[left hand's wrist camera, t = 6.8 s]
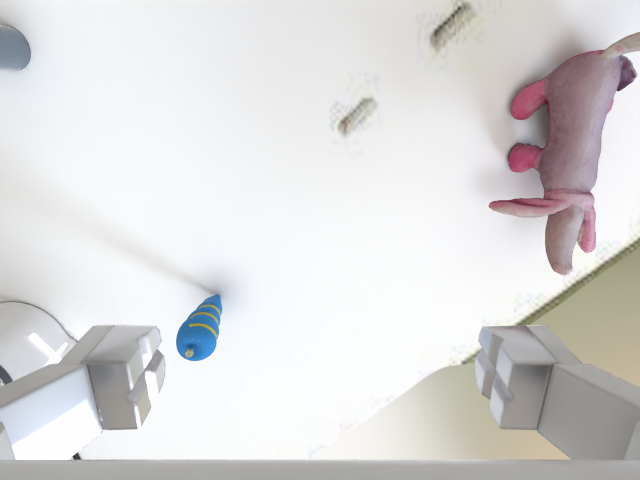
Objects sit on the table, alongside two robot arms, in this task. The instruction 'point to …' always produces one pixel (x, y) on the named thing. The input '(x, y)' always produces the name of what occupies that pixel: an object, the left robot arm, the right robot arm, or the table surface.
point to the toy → (569, 146)
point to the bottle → (13, 49)
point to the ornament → (200, 330)
